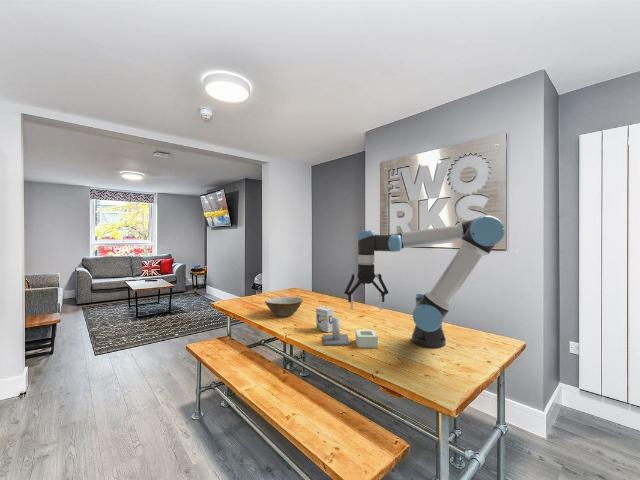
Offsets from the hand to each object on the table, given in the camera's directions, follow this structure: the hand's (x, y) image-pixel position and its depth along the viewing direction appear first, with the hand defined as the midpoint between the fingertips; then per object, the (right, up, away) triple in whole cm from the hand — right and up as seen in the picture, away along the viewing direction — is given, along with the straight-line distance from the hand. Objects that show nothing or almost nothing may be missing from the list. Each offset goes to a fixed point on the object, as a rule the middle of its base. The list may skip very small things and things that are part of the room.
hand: (366, 309), depth 140 cm
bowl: (-44, -15, +50) cm, 69 cm away
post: (-14, -16, +5) cm, 22 cm away
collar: (0, -16, +1) cm, 16 cm away
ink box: (-19, -16, +20) cm, 32 cm away
